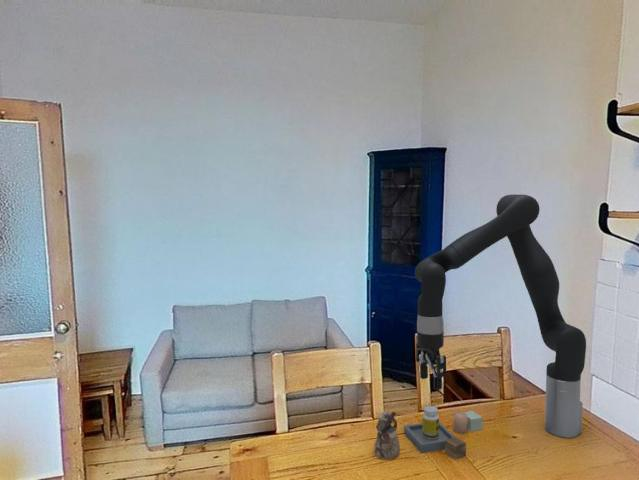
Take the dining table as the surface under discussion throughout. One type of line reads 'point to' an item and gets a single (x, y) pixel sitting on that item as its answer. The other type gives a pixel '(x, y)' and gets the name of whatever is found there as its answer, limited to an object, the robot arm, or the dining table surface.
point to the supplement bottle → (430, 423)
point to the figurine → (387, 437)
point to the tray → (427, 444)
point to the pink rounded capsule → (460, 422)
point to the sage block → (473, 421)
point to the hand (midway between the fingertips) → (430, 383)
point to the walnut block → (455, 448)
